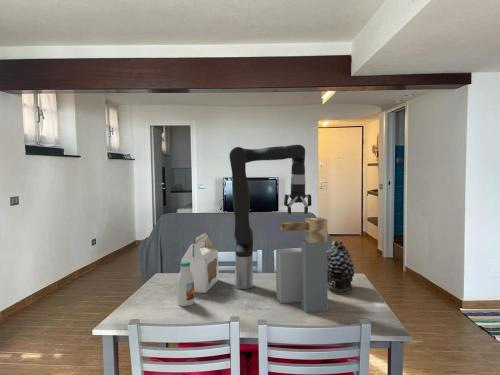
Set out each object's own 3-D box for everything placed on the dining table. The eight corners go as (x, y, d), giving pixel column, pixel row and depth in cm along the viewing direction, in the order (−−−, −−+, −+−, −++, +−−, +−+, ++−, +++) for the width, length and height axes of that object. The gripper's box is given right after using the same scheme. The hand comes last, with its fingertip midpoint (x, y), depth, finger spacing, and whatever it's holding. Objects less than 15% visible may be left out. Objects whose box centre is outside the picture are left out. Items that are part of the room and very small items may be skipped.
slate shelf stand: (288, 314, 151) (287, 243, 149) (276, 297, 171) (275, 235, 170) (327, 311, 154) (327, 241, 152) (311, 294, 174) (310, 233, 173)
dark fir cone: (319, 283, 192) (318, 238, 191) (345, 282, 193) (345, 237, 192) (331, 296, 171) (331, 246, 170) (360, 295, 172) (360, 245, 171)
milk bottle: (180, 307, 159) (179, 265, 158) (175, 302, 166) (174, 261, 165) (196, 304, 163) (195, 262, 162) (191, 299, 170) (190, 259, 169)
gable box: (205, 293, 178) (204, 239, 177) (181, 291, 181) (180, 238, 180) (218, 279, 200) (217, 231, 199) (197, 278, 203) (196, 231, 202)
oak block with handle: (283, 244, 149) (283, 220, 148) (279, 241, 155) (279, 219, 154) (327, 241, 152) (327, 219, 152) (322, 239, 158) (322, 217, 158)
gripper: (308, 183, 186) (308, 213, 186) (282, 183, 183) (282, 213, 184) (313, 183, 178) (313, 214, 179) (286, 183, 176) (286, 215, 177)
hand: (297, 214), depth 181 cm, fingers open, 8 cm apart
